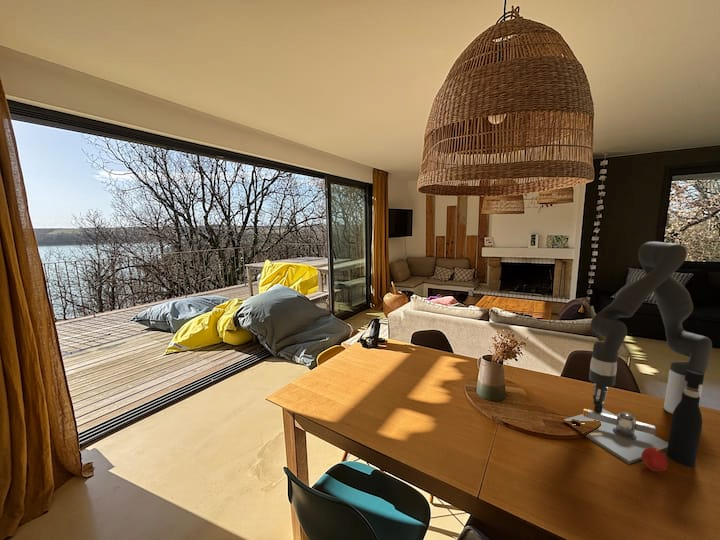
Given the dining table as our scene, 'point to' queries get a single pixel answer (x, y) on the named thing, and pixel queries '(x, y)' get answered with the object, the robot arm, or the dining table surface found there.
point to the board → (622, 440)
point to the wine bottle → (686, 422)
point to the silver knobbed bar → (621, 422)
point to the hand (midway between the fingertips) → (597, 413)
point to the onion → (654, 459)
